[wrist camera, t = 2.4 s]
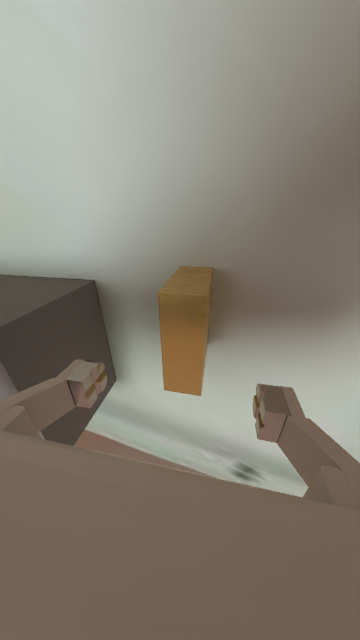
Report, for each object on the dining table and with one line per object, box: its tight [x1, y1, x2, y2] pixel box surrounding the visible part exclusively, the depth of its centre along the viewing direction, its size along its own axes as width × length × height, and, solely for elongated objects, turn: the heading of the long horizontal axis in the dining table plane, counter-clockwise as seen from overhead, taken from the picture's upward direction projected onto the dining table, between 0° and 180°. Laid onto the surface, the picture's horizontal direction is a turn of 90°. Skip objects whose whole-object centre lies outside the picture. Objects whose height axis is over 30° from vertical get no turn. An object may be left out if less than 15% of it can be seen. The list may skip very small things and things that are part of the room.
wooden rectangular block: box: [158, 266, 213, 396], centre depth 14 cm, size 7×2×6 cm, turn 0°
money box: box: [0, 275, 116, 446], centre depth 17 cm, size 12×14×9 cm
